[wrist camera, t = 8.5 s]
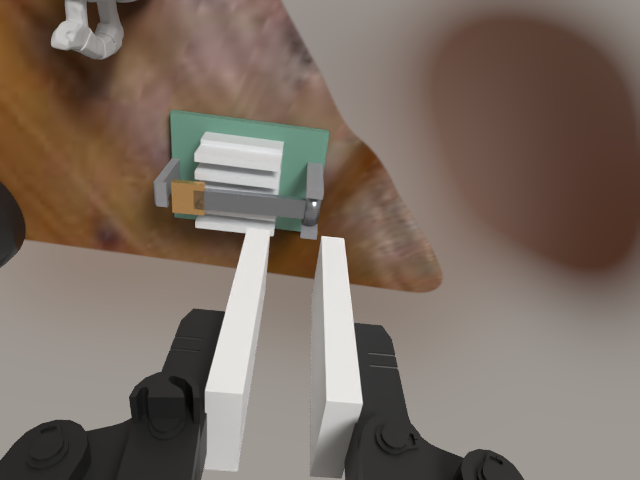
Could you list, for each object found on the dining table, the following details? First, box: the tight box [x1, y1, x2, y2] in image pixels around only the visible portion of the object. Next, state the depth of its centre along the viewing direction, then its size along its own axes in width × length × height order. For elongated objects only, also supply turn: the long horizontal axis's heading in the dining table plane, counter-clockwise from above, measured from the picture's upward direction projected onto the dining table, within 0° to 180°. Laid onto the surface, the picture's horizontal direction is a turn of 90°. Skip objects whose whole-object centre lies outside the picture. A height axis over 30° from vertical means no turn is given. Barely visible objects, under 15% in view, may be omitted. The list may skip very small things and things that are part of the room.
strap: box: [171, 179, 321, 225], centre depth 42 cm, size 14×3×2 cm, turn 82°
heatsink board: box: [154, 110, 329, 239], centre depth 44 cm, size 16×12×8 cm
